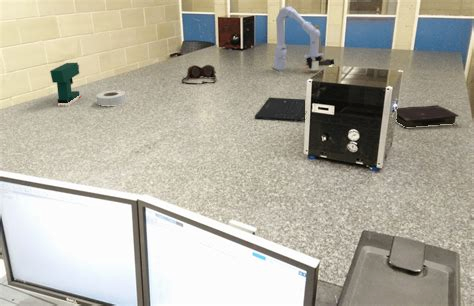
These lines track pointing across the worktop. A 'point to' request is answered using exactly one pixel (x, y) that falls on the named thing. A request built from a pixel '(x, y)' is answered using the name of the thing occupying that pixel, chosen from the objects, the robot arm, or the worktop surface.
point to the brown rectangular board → (308, 70)
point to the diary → (425, 116)
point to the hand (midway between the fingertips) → (313, 67)
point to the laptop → (282, 109)
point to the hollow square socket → (314, 65)
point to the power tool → (65, 81)
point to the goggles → (200, 73)
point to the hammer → (323, 61)
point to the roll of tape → (111, 97)
